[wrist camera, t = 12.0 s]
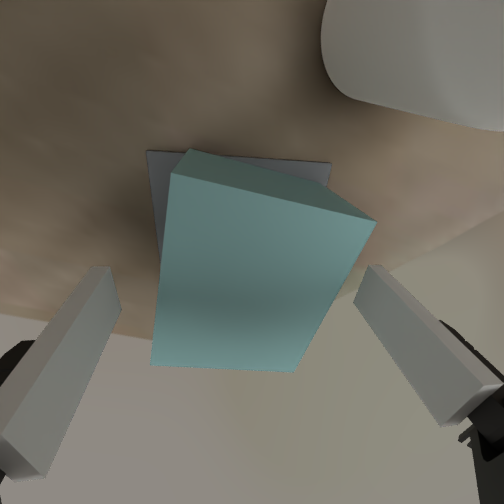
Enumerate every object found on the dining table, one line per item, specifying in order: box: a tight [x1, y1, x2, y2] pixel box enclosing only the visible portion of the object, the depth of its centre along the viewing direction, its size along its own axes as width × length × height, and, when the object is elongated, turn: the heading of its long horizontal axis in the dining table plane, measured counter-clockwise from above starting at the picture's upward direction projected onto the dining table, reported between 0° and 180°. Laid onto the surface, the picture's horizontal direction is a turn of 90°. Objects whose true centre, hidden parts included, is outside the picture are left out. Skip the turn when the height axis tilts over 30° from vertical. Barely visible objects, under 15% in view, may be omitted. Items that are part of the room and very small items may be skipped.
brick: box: [150, 148, 377, 372], centre depth 15 cm, size 9×11×7 cm
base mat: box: [146, 150, 332, 265], centre depth 18 cm, size 12×12×1 cm
